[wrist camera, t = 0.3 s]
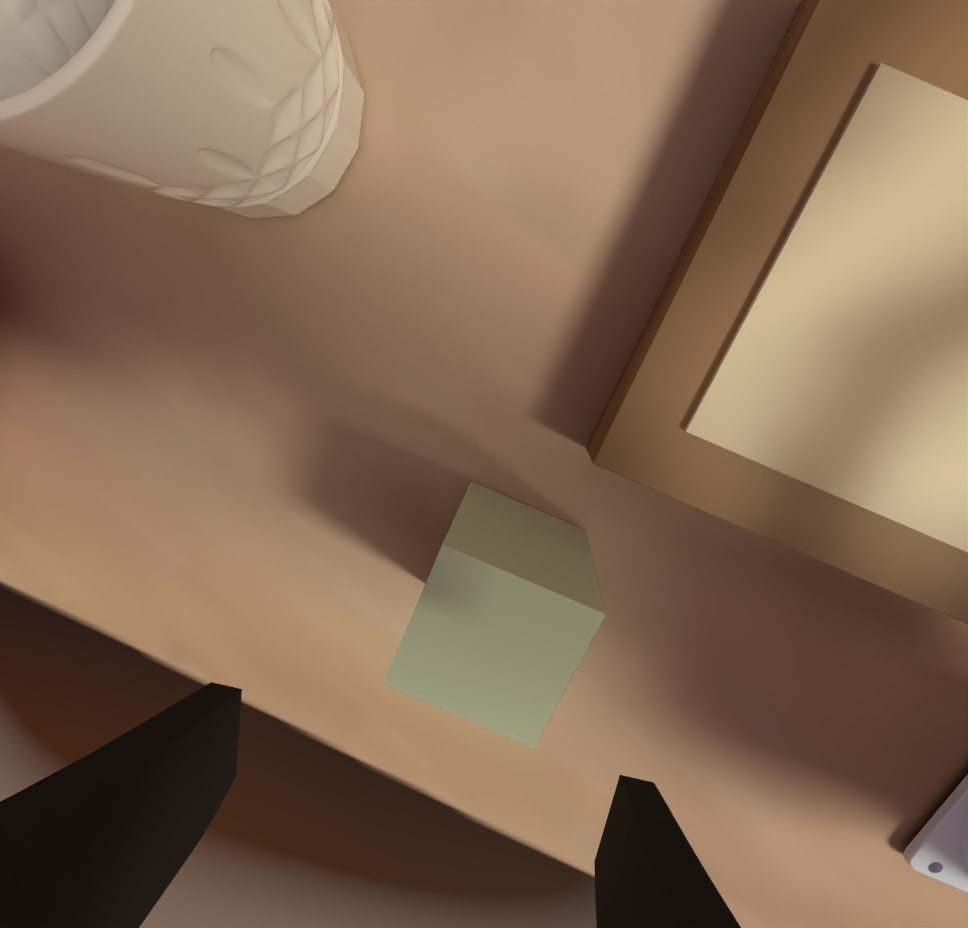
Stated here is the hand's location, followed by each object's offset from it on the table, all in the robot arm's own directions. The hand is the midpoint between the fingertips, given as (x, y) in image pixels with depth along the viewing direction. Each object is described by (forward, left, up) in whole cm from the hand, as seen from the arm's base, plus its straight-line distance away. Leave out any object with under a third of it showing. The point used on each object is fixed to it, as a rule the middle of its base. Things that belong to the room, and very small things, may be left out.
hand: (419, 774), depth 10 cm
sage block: (-1, 0, -10) cm, 10 cm away
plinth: (-9, -12, -10) cm, 18 cm away
